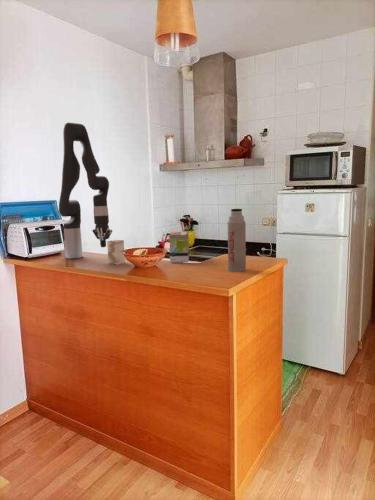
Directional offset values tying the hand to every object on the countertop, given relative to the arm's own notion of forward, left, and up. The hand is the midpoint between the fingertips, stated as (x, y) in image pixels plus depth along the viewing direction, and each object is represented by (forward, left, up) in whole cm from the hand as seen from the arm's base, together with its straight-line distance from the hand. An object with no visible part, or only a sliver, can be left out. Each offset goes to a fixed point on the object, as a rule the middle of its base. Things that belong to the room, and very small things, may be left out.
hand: (103, 247), depth 199 cm
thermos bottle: (+73, +11, -8) cm, 74 cm away
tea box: (+35, +21, -8) cm, 42 cm away
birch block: (+9, 0, -8) cm, 12 cm away
